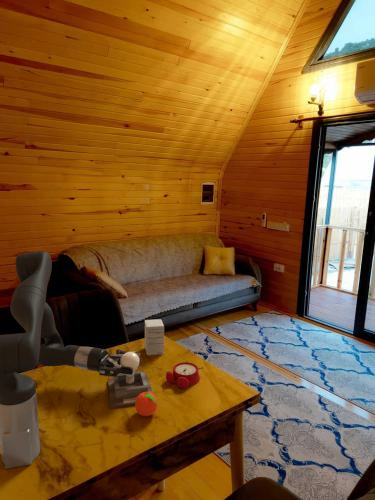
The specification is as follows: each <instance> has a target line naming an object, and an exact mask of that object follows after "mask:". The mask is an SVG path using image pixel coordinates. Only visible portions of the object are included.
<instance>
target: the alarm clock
mask: <svg viewBox="0 0 375 500" xmlns="http://www.w3.org/2000/svg"><path fill="white" fill-rule="evenodd" d="M202 369H204V367H200V368H199V366H197V365H196V364H195V363H192V362H188V361H186V362H185V361H183V362H178V363H176V364H174V366H173V367H172V371H171V370H170V371H167V372H166V374H165V379H166V380H165V383H166V384H167V385H169V386H172V387H179V389H183V390H185V389H187V388H188V387H189V386H194V385H196V384H198V383H199V382H200V380H201V376H200V374H199V370H202ZM173 384H175V385H173Z"/></svg>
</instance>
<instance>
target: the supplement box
mask: <svg viewBox="0 0 375 500" xmlns="http://www.w3.org/2000/svg"><path fill="white" fill-rule="evenodd" d="M144 348H145V349H144V350H145V353H146V354H145V355H146V356H157V355H158V356H159V355H164V354H165V325H164V323H163V320H162V319H145V320H144Z"/></svg>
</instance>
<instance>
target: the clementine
mask: <svg viewBox="0 0 375 500" xmlns="http://www.w3.org/2000/svg"><path fill="white" fill-rule="evenodd" d="M158 404H159V403H158V399H157V396H156V395H155V394H154V393H153V394H152V393H150V392H143V393H141V394H140V395H139V396H138V397H137V398H136V401H135V405H134V408H135V410H136V412H137V414H139V415H141V416H142V417H150V416H152V415H153V414H154V413H155V412H156V411H157V408H158Z"/></svg>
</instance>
